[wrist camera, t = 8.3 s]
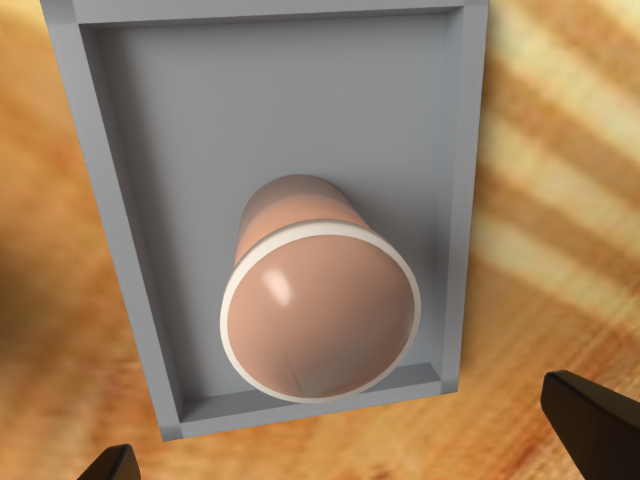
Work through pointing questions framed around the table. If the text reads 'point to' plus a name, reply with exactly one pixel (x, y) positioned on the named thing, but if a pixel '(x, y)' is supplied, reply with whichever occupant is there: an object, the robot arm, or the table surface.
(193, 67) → the tray
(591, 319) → the table surface
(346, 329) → the cup
